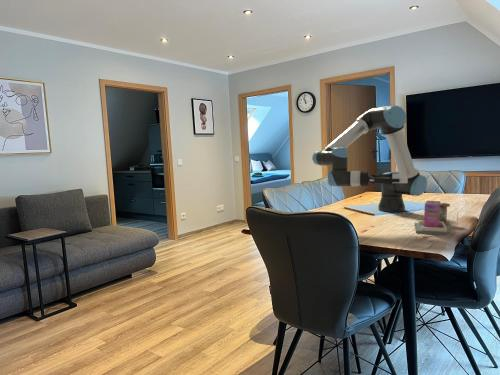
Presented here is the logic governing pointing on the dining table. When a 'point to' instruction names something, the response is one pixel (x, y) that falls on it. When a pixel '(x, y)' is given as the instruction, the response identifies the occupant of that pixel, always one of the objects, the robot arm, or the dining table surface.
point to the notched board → (432, 228)
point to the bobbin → (443, 212)
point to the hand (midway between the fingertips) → (407, 178)
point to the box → (432, 214)
